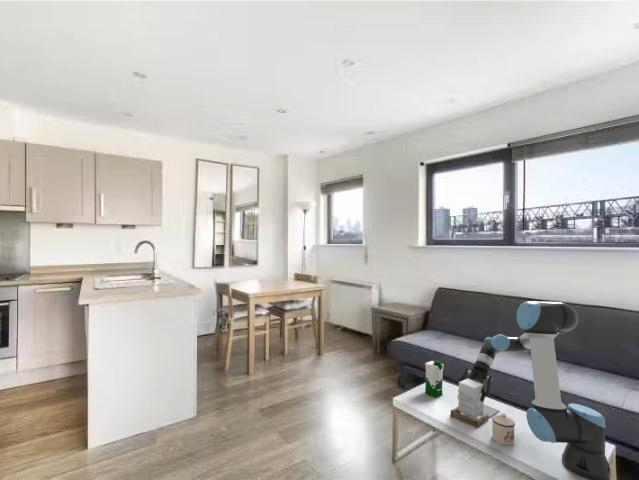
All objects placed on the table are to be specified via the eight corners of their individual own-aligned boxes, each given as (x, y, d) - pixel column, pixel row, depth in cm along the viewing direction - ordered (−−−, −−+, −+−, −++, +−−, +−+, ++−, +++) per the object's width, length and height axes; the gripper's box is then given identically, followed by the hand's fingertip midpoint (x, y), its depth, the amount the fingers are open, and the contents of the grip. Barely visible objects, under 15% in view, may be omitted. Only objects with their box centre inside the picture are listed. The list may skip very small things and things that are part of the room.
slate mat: (489, 418, 168) (489, 417, 168) (466, 408, 177) (466, 407, 177) (499, 411, 175) (499, 410, 175) (477, 402, 185) (477, 401, 185)
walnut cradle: (476, 428, 158) (476, 421, 158) (450, 416, 169) (450, 410, 169) (488, 420, 166) (488, 414, 166) (462, 409, 176) (462, 404, 176)
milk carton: (436, 399, 188) (437, 363, 188) (422, 393, 195) (423, 359, 195) (444, 395, 193) (445, 360, 193) (431, 389, 200) (431, 356, 201)
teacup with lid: (507, 448, 142) (507, 421, 143) (487, 437, 150) (487, 412, 150) (522, 440, 149) (522, 414, 149) (502, 430, 156) (502, 406, 157)
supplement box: (467, 406, 175) (467, 377, 175) (483, 413, 167) (484, 383, 168) (457, 411, 169) (458, 381, 169) (474, 418, 162) (475, 388, 162)
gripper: (506, 374, 170) (492, 415, 159) (465, 362, 187) (450, 398, 176) (502, 366, 167) (487, 407, 156) (461, 354, 183) (445, 390, 173)
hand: (467, 402), depth 166 cm, fingers closed on supplement box, 9 cm apart
